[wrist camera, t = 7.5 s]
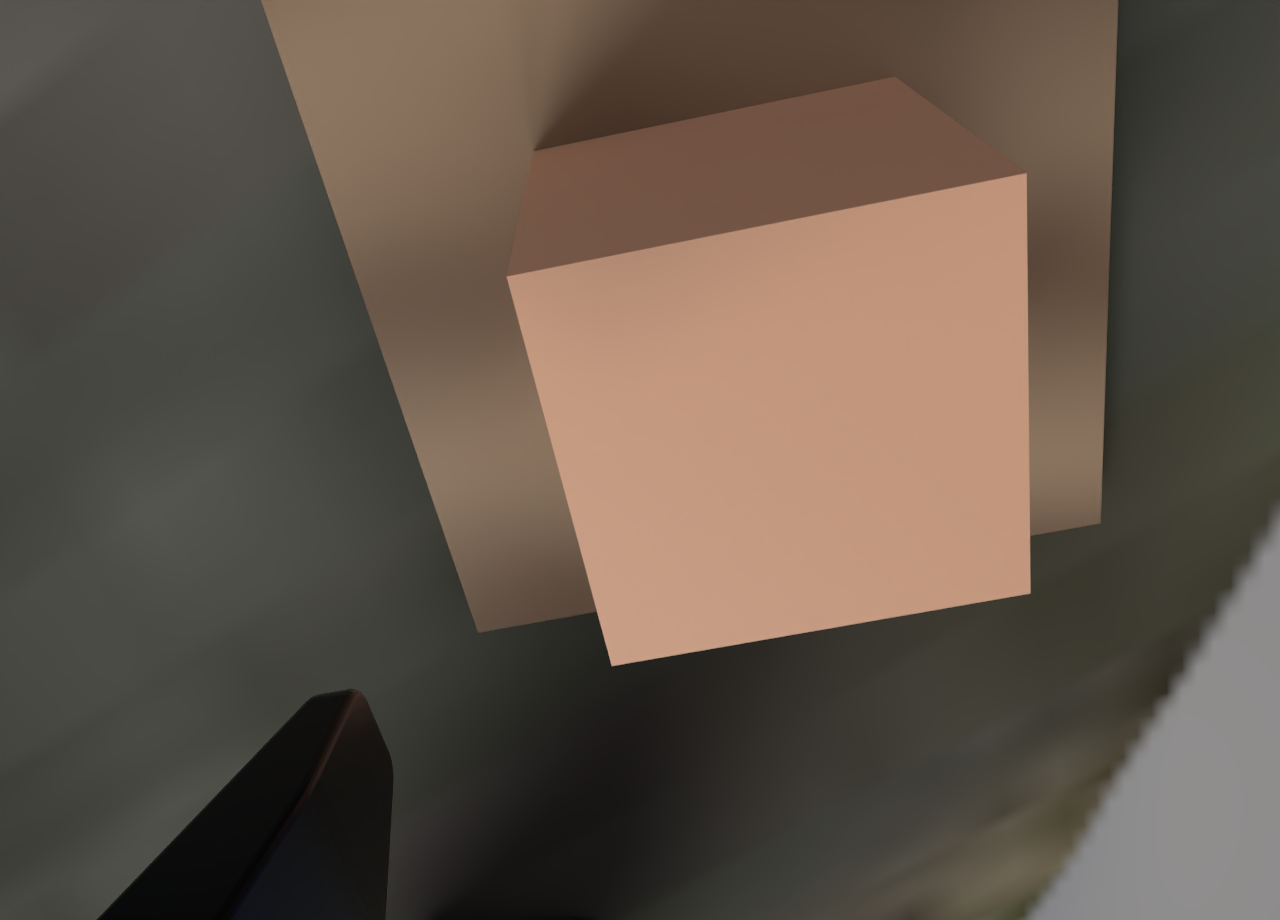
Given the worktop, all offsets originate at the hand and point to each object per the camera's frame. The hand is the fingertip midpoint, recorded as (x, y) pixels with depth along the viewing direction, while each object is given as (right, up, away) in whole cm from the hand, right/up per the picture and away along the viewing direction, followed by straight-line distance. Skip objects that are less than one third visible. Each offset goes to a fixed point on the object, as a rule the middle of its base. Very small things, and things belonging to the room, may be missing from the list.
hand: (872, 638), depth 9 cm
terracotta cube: (0, +4, +8) cm, 9 cm away
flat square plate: (0, +5, +9) cm, 10 cm away
